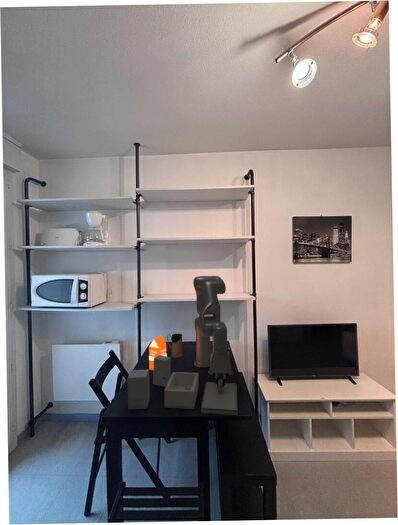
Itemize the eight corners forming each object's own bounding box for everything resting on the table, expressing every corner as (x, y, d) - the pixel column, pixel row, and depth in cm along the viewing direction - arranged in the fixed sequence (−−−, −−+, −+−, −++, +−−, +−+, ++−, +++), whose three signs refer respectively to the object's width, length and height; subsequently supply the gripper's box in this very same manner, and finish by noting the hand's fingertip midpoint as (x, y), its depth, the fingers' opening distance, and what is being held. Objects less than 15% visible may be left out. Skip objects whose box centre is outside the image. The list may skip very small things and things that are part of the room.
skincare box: (152, 384, 141) (152, 358, 141) (158, 380, 147) (158, 354, 147) (165, 387, 138) (165, 360, 138) (171, 382, 143) (170, 356, 143)
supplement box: (150, 398, 126) (149, 368, 126) (147, 409, 118) (146, 377, 118) (132, 399, 126) (131, 369, 126) (127, 409, 117) (127, 377, 117)
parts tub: (173, 386, 138) (173, 372, 138) (198, 387, 137) (198, 372, 137) (164, 407, 119) (164, 390, 119) (194, 408, 117) (193, 391, 117)
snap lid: (206, 386, 136) (205, 373, 136) (236, 387, 134) (236, 374, 134) (201, 412, 114) (200, 397, 114) (237, 415, 112) (237, 399, 111)
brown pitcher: (177, 358, 179) (177, 337, 179) (163, 354, 188) (163, 334, 188) (185, 354, 186) (185, 334, 186) (171, 350, 195) (171, 331, 195)
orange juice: (149, 369, 162) (148, 338, 162) (157, 364, 170) (156, 334, 170) (159, 371, 158) (158, 339, 158) (166, 366, 166) (166, 335, 166)
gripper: (235, 347, 132) (235, 382, 132) (205, 347, 133) (205, 382, 133) (236, 352, 124) (236, 390, 124) (203, 352, 126) (204, 389, 126)
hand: (220, 385), depth 129 cm, fingers closed on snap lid
